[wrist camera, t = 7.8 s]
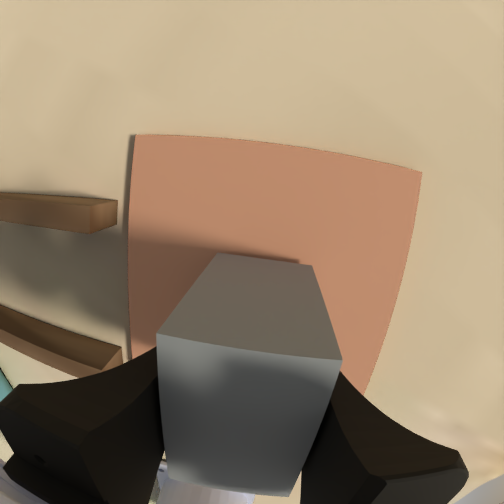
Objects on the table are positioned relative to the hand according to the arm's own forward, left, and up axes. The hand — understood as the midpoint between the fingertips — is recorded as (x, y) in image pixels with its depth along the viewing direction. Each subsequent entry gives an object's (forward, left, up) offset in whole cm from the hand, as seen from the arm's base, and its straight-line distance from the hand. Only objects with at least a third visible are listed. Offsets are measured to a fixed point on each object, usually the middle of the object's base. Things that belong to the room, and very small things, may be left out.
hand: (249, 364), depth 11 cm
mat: (0, 0, -4) cm, 4 cm away
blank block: (0, 0, -3) cm, 3 cm away
